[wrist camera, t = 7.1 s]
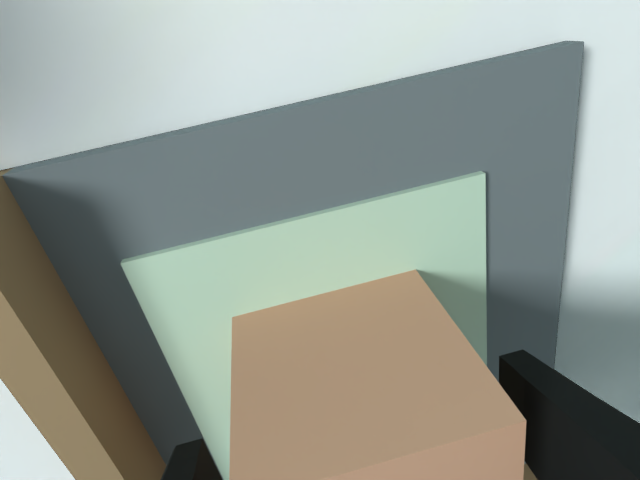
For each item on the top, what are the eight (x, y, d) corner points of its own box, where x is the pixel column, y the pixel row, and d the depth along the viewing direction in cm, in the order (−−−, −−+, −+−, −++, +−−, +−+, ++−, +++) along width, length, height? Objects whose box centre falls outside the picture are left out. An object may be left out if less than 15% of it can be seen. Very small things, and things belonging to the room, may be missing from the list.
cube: (415, 269, 12) (530, 425, 7) (428, 399, 14) (520, 578, 9) (231, 316, 11) (228, 513, 7) (276, 441, 14) (297, 649, 9)
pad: (484, 414, 15) (487, 419, 15) (230, 487, 14) (230, 493, 14) (481, 170, 11) (485, 173, 11) (122, 259, 10) (120, 263, 10)
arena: (535, 460, 18) (577, 522, 16) (199, 559, 17) (194, 640, 15) (566, 40, 10) (656, 45, 8) (-32, 177, 9) (-114, 224, 7)
